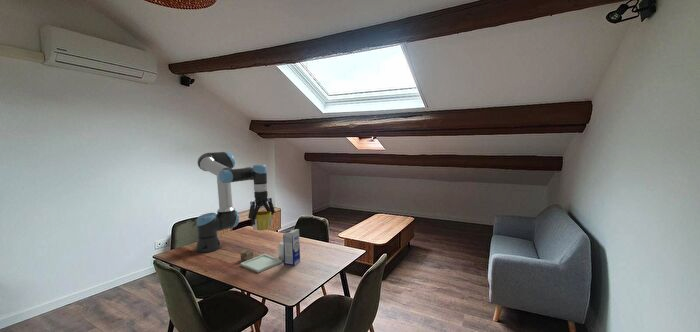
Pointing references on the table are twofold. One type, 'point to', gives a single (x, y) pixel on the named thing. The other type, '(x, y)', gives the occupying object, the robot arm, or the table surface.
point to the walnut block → (246, 255)
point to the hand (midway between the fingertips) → (262, 227)
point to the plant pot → (263, 220)
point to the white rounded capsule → (281, 251)
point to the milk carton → (291, 247)
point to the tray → (261, 263)
